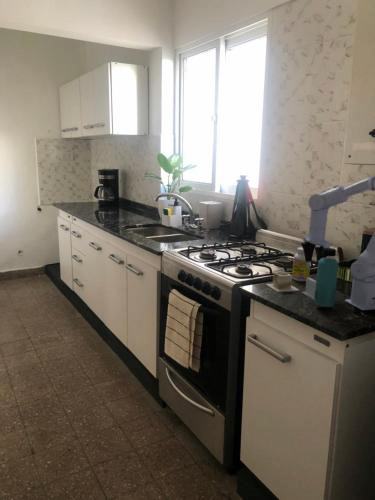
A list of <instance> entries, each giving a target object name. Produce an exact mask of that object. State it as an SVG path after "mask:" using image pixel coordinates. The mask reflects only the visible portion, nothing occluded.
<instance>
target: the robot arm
mask: <svg viewBox="0 0 375 500" xmlns="http://www.w3.org/2000/svg"><path fill="white" fill-rule="evenodd" d="M368 191H370V192H371V191H373V192H374V191H375V175H372V176H369V177H367V178H364V179H362V180H360V181H358V182H356V183H353V184H351V185H349V186H347V187H345V186H344V185H334V186H333V188H331V189H329V190H322V191H321V193H320V194H319V193H314V194H312V195H311V196H310V197H309V198H308V203H307V204H308V207H309V208H310V219H309V226H308V228H309V229H308V235H303V238H302V241H303V242H301V243H300V245H301V247H303V250H304V255H305V261H306V262H312V260H313V256H314V251H315V254H316V255H315V256H316V267H317V268H318V261H319V260H320V259H321V258H328V256H324V255H322V252H323V248H331V243H330V242H328V241H327V240H326V238H325V237H326V231H327V230H326V229H327V221H328V214H329V209H330V208H332V207H334V206H337V205H341V204H343V203H346V202H348V200H349V198H350V197H352V196H355V195H358V194H361V193H364V192H368ZM356 259H357V260H355V261H354V262H353V263H352V264H351V265H350V270H349V271H350V274H351V276H352V286H351V293H350V299H349V298H347V299H344V302H346V303H348V304H350V305H351V306H354V307H355V308H357V309H359V310H361V311H370V310H375V231H374V232H373V234H372V235H371V238H370V240H369V242H368V244H367V246H366V249H364V251H363V252H362V253H360V255H359V256H358V258H356Z"/></svg>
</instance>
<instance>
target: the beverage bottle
mask: <svg viewBox="0 0 375 500" xmlns="http://www.w3.org/2000/svg"><path fill="white" fill-rule="evenodd" d="M322 255H324V256H327V257H326V258H321V259H320V260H319V261H318V267H317V271H316V272H317V273H316V280H315V281H316V290H315V296H314V297H315V299H314V300H315V301H314V300H313V301H314V304H315V305H317V306H319V307H322V308H323V307H324V308H332V307H334V306H335V301H336V293H337V291H336V290H337V282H338V270H339V262H338V261H337V260H336V259H335V258H332V257H336V256H337V250H336V248H332V247H330V248H323V252H322Z"/></svg>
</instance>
